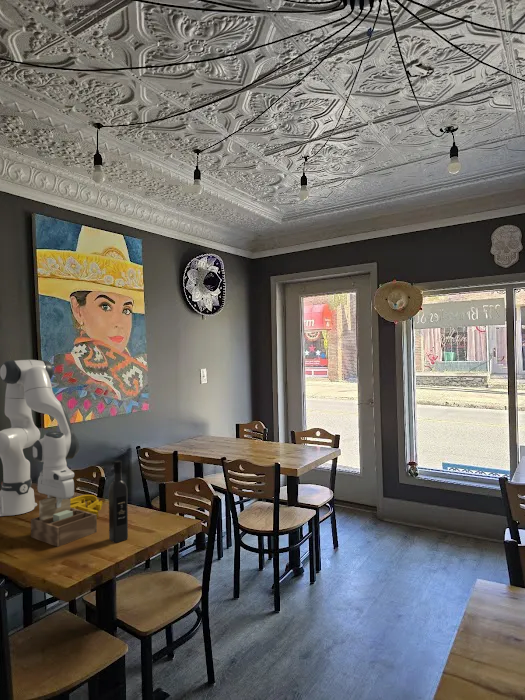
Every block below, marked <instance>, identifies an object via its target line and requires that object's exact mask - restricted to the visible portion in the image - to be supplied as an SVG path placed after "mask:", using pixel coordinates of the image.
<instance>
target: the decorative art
mask: <svg viewBox="0 0 525 700" xmlns="http://www.w3.org/2000/svg"><path fill="white" fill-rule="evenodd" d="M99 500H100V499H98V497H97V496H96V495H95V494H94V495H93V494H82V495H78V496H76V497H72V498H70V507H71V508H74V509H78V510H82V511H86V512H89V513H93V514H97V518H99V511H101V510H102V507H103V501H102V500H100V501H99Z"/></svg>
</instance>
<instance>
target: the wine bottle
mask: <svg viewBox="0 0 525 700" xmlns="http://www.w3.org/2000/svg"><path fill="white" fill-rule="evenodd" d="M122 464H123V461H122V460H114V461H113V469H114V471H113V472H114V473H113V474H114V475H113V476H114V477H113V478H114V479H113V481H111V483H110V484H109V487H108V523H109V524H108V526H109V527H108V530H109V531H108V533H109V534H108V535H109V541H112V543H116V544H117V543H120V542H124V541H126V540H128V538H129V526H128V525H129V524H128V523H129V521H128V520H129V519H128V518H129V517H128V516H129V515H128V513H129V512H128V511H129V509H128V486H127V484H126V482H125V481H124V480H123V477H122V475H123V474H122V472H123V471H122V470H123V469H122V467H123V465H122Z"/></svg>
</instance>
